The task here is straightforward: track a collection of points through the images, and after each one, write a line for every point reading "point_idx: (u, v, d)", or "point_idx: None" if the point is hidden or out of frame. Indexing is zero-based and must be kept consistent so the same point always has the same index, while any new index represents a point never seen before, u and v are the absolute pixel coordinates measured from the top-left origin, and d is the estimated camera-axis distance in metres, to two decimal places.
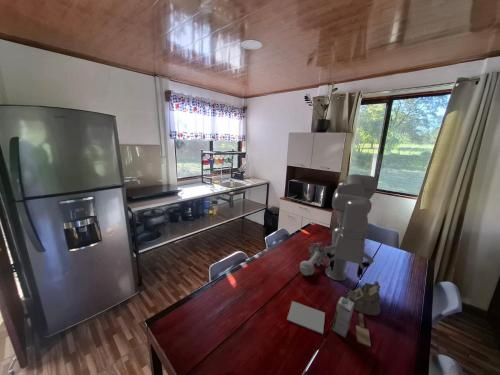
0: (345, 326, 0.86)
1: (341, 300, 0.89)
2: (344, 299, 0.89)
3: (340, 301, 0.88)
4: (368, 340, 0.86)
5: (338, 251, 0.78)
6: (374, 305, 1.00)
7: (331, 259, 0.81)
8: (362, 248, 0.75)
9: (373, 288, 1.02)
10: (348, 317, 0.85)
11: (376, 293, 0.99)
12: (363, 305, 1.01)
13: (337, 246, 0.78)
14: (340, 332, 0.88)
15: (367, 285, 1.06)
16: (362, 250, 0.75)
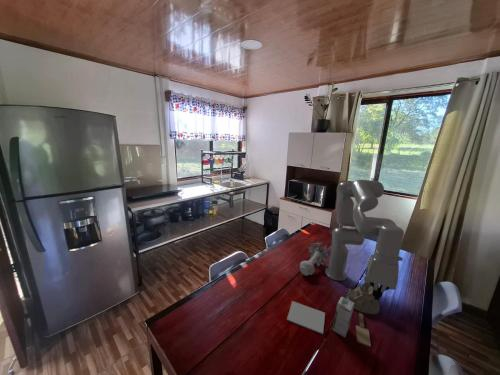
0: (345, 326, 0.86)
1: (341, 300, 0.89)
2: (344, 299, 0.89)
3: (340, 301, 0.88)
4: (368, 340, 0.86)
5: (371, 275, 0.79)
6: (373, 304, 1.00)
7: (375, 288, 0.80)
8: (396, 273, 0.75)
9: (372, 287, 1.02)
10: (348, 317, 0.85)
11: None
12: (362, 304, 1.01)
13: (370, 270, 0.79)
14: (340, 332, 0.88)
15: (366, 284, 1.07)
16: (396, 275, 0.75)
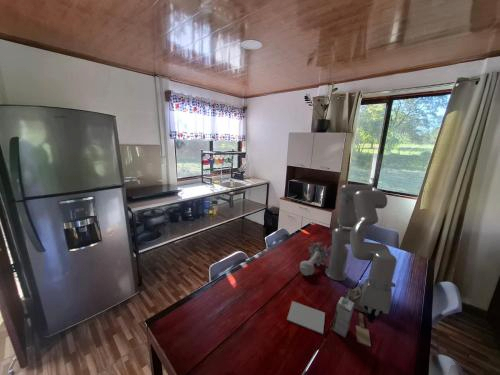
0: (345, 326, 0.86)
1: (341, 300, 0.89)
2: (344, 299, 0.89)
3: (340, 301, 0.88)
4: (368, 340, 0.86)
5: (365, 299, 0.82)
6: None
7: (369, 312, 0.83)
8: (389, 298, 0.78)
9: None
10: (348, 317, 0.85)
11: None
12: None
13: (364, 294, 0.82)
14: (340, 332, 0.88)
15: None
16: (389, 300, 0.78)
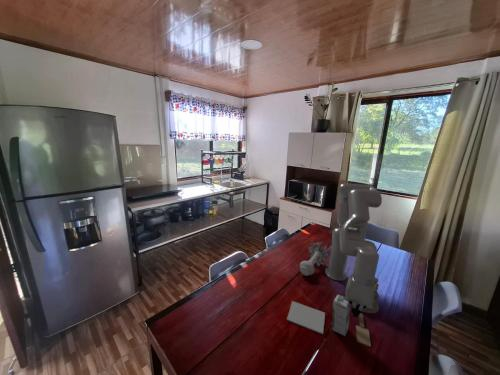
0: (344, 323, 0.86)
1: (337, 298, 0.90)
2: (340, 297, 0.90)
3: (336, 299, 0.89)
4: (368, 340, 0.86)
5: (350, 294, 0.84)
6: (373, 303, 1.01)
7: (353, 306, 0.85)
8: (372, 293, 0.80)
9: None
10: (345, 314, 0.86)
11: (375, 291, 1.00)
12: None
13: (349, 289, 0.84)
14: (340, 331, 0.88)
15: None
16: (372, 295, 0.80)
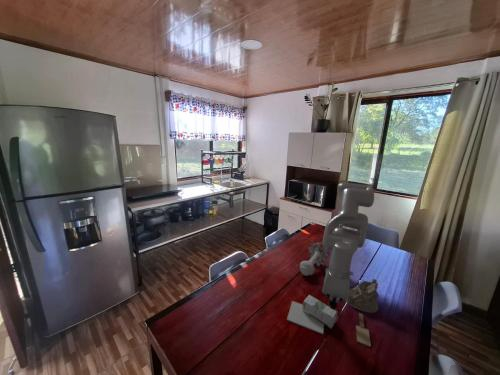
0: (320, 312, 0.93)
1: None
2: None
3: None
4: (368, 340, 0.86)
5: (326, 287, 0.87)
6: (372, 302, 1.01)
7: (331, 299, 0.88)
8: (347, 286, 0.84)
9: (371, 286, 1.03)
10: (310, 305, 0.96)
11: (374, 291, 1.00)
12: (361, 303, 1.02)
13: (326, 283, 0.87)
14: (329, 321, 0.90)
15: (365, 283, 1.08)
16: (347, 288, 0.84)
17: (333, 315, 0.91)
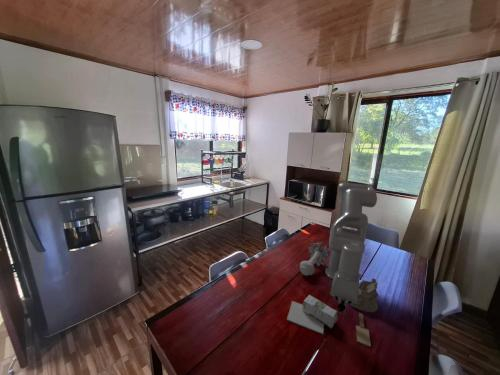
0: (320, 311, 0.93)
1: None
2: None
3: None
4: (368, 340, 0.86)
5: (335, 290, 0.86)
6: (372, 302, 1.02)
7: (339, 302, 0.87)
8: (356, 289, 0.82)
9: (371, 285, 1.04)
10: (311, 305, 0.96)
11: (374, 290, 1.01)
12: (361, 302, 1.02)
13: (334, 285, 0.86)
14: (329, 320, 0.90)
15: (365, 282, 1.08)
16: (356, 291, 0.82)
17: (333, 314, 0.91)
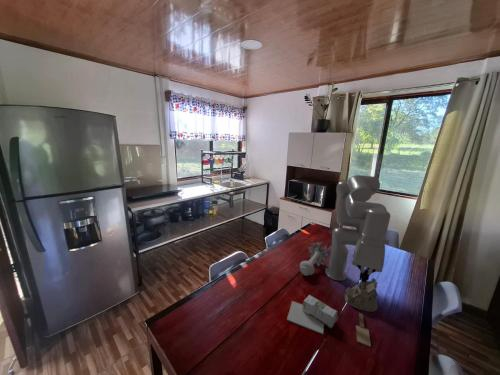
0: (320, 311, 0.93)
1: None
2: None
3: None
4: (368, 340, 0.86)
5: (358, 258, 0.80)
6: (371, 302, 1.02)
7: (362, 271, 0.81)
8: (383, 255, 0.76)
9: (370, 285, 1.04)
10: (311, 305, 0.96)
11: (373, 290, 1.01)
12: (361, 302, 1.03)
13: (357, 253, 0.80)
14: (329, 320, 0.90)
15: None
16: (383, 257, 0.76)
17: (333, 314, 0.91)
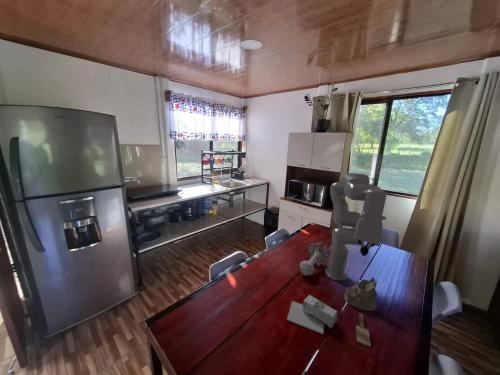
0: (320, 311, 0.93)
1: None
2: None
3: None
4: (368, 340, 0.86)
5: (359, 233, 0.90)
6: (371, 301, 1.02)
7: (362, 246, 0.91)
8: (380, 230, 0.86)
9: (370, 284, 1.04)
10: (311, 305, 0.96)
11: (373, 289, 1.01)
12: (360, 301, 1.03)
13: (358, 229, 0.90)
14: (329, 320, 0.90)
15: (364, 281, 1.09)
16: (380, 232, 0.86)
17: (333, 314, 0.91)
